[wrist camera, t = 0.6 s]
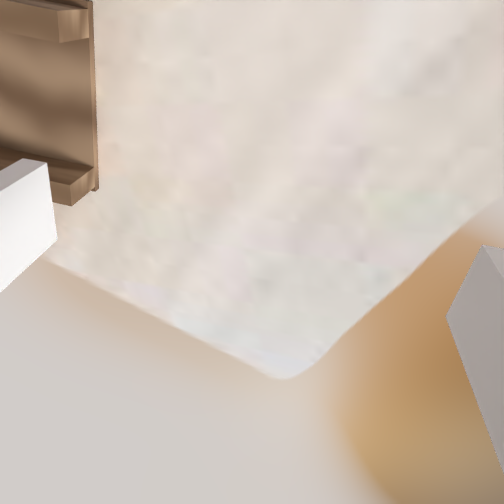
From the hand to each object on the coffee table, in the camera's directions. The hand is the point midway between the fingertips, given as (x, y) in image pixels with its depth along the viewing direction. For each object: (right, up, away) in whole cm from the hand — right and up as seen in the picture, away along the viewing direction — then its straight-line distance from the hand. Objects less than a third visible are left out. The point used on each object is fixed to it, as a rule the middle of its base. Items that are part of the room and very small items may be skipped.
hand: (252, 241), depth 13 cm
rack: (-20, +14, +24) cm, 34 cm away
